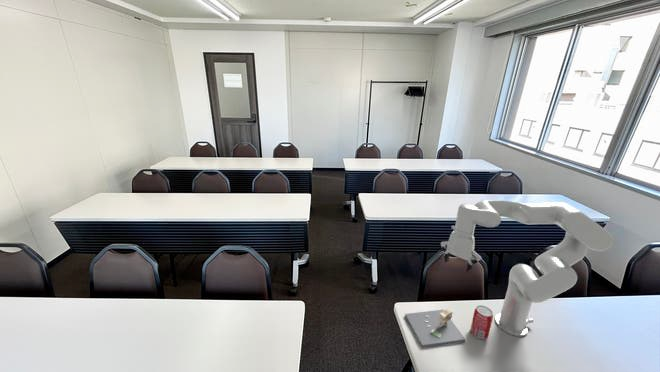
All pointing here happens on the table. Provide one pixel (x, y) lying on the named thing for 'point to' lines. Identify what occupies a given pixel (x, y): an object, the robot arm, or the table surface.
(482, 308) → the soda can
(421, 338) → the grey flat slab
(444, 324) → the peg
